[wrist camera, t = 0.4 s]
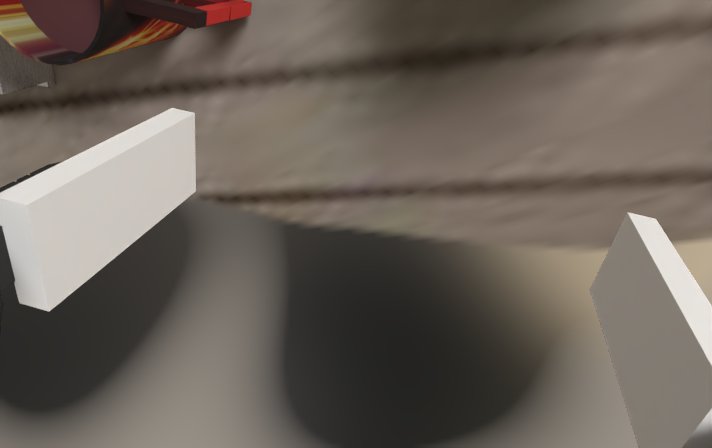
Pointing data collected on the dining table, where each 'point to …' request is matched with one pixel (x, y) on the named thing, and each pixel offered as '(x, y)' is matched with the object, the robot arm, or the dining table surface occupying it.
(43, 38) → the mug
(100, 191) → the robot arm
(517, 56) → the dining table surface
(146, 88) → the dining table surface
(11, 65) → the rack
